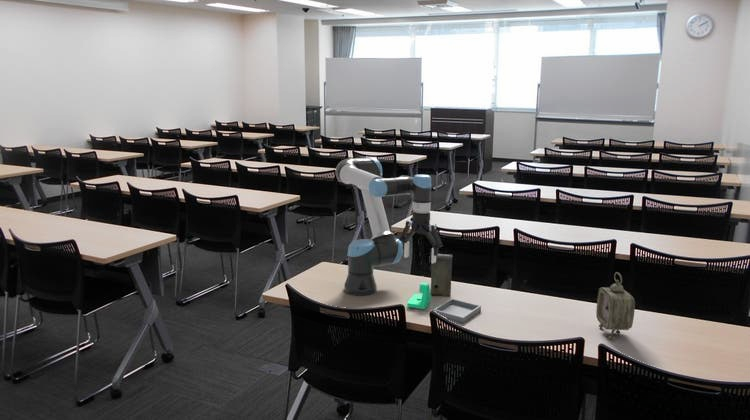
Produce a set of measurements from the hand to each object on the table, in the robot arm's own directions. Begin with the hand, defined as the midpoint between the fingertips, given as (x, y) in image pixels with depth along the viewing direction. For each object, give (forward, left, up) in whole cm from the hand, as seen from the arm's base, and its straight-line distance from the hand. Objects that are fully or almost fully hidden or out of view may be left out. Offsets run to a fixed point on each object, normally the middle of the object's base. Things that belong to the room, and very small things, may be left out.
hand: (419, 259), depth 242 cm
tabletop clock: (+76, +21, -21) cm, 81 cm away
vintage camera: (-1, +21, -21) cm, 30 cm away
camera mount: (0, 0, -21) cm, 21 cm away
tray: (+18, +2, -21) cm, 27 cm away
